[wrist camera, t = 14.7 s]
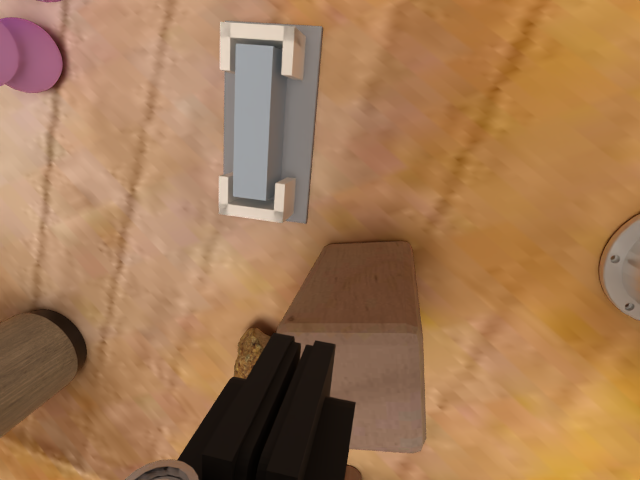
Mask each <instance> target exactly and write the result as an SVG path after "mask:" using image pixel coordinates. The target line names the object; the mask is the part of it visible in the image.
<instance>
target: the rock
mask: <svg viewBox="0 0 640 480" xmlns="http://www.w3.org/2000/svg"><path fill="white" fill-rule="evenodd" d="M270 337H271V336H268V335H266V334H264V333H262V332H261V330H260V329H258V328H253V329H252V328H250V329H248V330H247V331H246V333H245V334H244V335H243V336H242V337H241V339H240V342H239V344H238V357H237V360H236V363H235V366H234V377H239V378H243V379H246V378H247V377H248V375H249V373H250V372H251V370H252V368H253V366H254V365H255V363H256V361H257V360H258V358H259V356H260V354H261V353H262V351H263V349H264V348H265V346H266V344H267V343H268V341H269V339H270Z"/></svg>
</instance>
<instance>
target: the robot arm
mask: <svg viewBox="0 0 640 480" xmlns="http://www.w3.org/2000/svg"><path fill="white" fill-rule="evenodd" d="M612 256H613V257H612ZM611 257H612V258H611ZM599 275H600V282H601V285H602V288H603V291H604V292H605V294H606V296H607V297H608V299H609V300H610V301H611V302H612V303H613V304H614V305H615V306H616V307H617V308H618V309H619V310H621V311H622V312H623V313H625V314H626V315H628V316H630V317H632V318H634V319H636V320H639V321H640V214H639V215H637V216H635V217H633V218H632V219H630V220H629V221H628V222H627V223H625V224H624V225H623V226H621V227H620V229H619V230H618V231H617V232H616V233H615V234H614V235H613V236H612V237H611V239H610V241H609V242H608V244H607V245H606V247H605V249H604V252H603V254H602V257H601V261H600V267H599ZM335 348H336V344H333V343H327V342H322V341H317V340H315V342H314V344H313V345H308V344H307V345H306V346H305V348H304V351H303V353H302V356H301V358H300V353H301V343H297V342H295V338H294V336H290V335H285V334H280V333H273V334H272V336H271V337H270V339H269V341H268V343H267V344H266V346H265V348H264V349H263V351H262V353H261V354H260V356H259V358H258V360H257V361H256V363H255V365H254V366H253V368H252V370H251V372H250V373H249V375H248V377H247V378H246V379H243V378H239V377H232V378H231V379H230V380H229V381H228V383H227V384H226V386H225V387H224V389H223V390H222V392H221V394H220V395H219V397H218V398H217V400H216V401H215V403H214V404H213V406H212V407H211V409H210V410H209V412H208V414H207V415H206V417H205V418H204V420H203V421H202V423H201V424H200V426H199V427H198V429H197V430H196V432H195V434H194V435H193V437H192V438H191V440H190V441H189V443H188V444H187V446H186V447H185V449H184V450H183V452H182V454H181V455H180V457H179V458H178V460H173V459H172V460H159V461H156V462H152V463H149V464H147V465H145V466H143V467H141V468H139V469H137V470H136V471H134V472H133V473H132V474H131V475H130V476H128V477H127V478H126V479H125V480H345V473H346V466H347V459H348V452H349V446H350V439H351V432H352V425H353V418H354V411H355V405H356V402H353V401H348V400H343V399H338V398H334V397H330V390H331V382H332V373H333V365H334V357H335Z"/></svg>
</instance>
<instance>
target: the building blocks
mask: <svg viewBox="0 0 640 480" xmlns="http://www.w3.org/2000/svg"><path fill="white" fill-rule="evenodd" d="M345 480H362V478H361V474H360V473H359V471H358V470H357V469H355V468H354V467H352V466H346V473H345Z"/></svg>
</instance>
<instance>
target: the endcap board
mask: <svg viewBox="0 0 640 480" xmlns="http://www.w3.org/2000/svg"><path fill="white" fill-rule="evenodd" d="M322 33H323V27H322V26H306V25H289V24H272V23H255V22H238V21H225V22H220V70H222V71H225V91H224V175H221V176H219V214H223V215H230V216H237V217H244V218H251V219H258V220H265V221H272V222H279V223H283V222H284V221H291V222H298V223H305V224H306V223H307V215H308V203H309V191H310V179H311V167H312V154H313V142H314V130H315V118H316V106H317V94H318V82H319V70H320V58H321V45H322ZM236 44H249V45H264V46H274V47H275V48H277V49H279V50H280V51H282V69H281V75H283V76H286V77H287V85H286V102H285V119H284V136H283V153H282V170H281V181H279V182H277V183H275V196H273V197H271V198H270V199H268V200H266V201H264V200H256V199H249V198H241V197H234V196H233V161H234V108H235V56H236Z"/></svg>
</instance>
